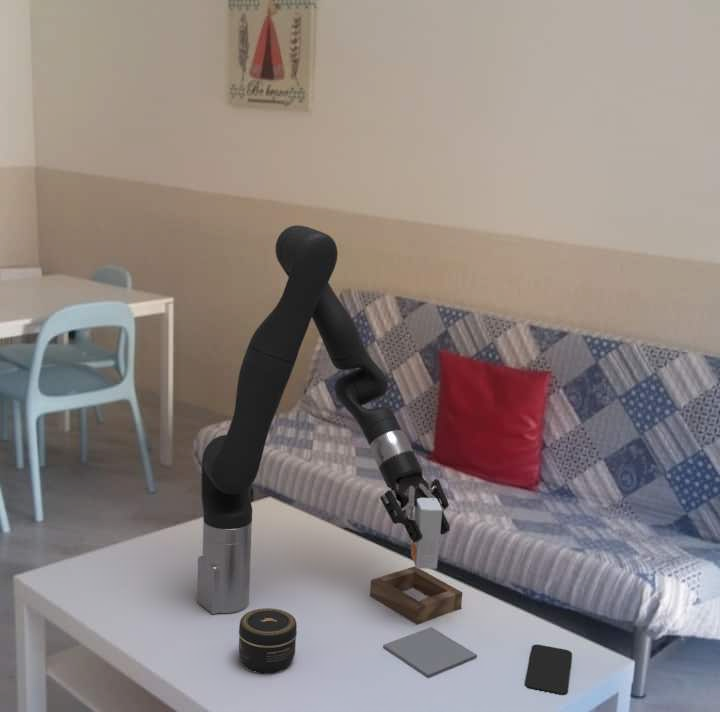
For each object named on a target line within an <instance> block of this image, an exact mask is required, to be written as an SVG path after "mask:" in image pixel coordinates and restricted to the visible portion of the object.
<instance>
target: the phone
mask: <svg viewBox="0 0 720 712" xmlns="http://www.w3.org/2000/svg"><path fill="white" fill-rule="evenodd" d="M529 653H530V654H529V658H528V665H527V668H526V675H525V680H524V687H525V686H526V687H525V688H526V689H529V690H532V689H534V691H537V690H539V692H542V691H544V692H543V693H547V692H549V693H548V694H552V693H554V694H553V695H557V694H558V696H566V695H567V694H568V692H569V685H570V684H569V682H570V675H571V668H572V657H573V652H572V651H570V650H568V649H563V648H558V647H553V646H549V645H542V644H533V645H532V646H531V649H530V652H529Z"/></svg>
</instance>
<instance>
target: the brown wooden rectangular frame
mask: <svg viewBox="0 0 720 712" xmlns="http://www.w3.org/2000/svg"><path fill="white" fill-rule="evenodd" d="M410 589H414V590H416V591H418V592H420V593H422V594H423V595H425V596H427V598H424V599H421V600H418V599H416V598H415V597H413V596H411V595H409V594H407V593H406V592H404V591H407V590H410ZM369 596H370V597H371V598H373V599H374V600H376V601H377V602H379V603H380V604H383V606H386V607H387V608H389V609H391V611H394V612H395V613H397V614H399V615H400V616H402V617H403V618H405V619H407V620H409V621H410V622H412V623H413V624H415V625H419V624H422V623H426V622H427V621H430V620H433V619H435V618H436V619H437V618H438V617H442V616H444V615H446V614H449V613H453V612H455V611H458V610H461V609H462V602H463V601H462V600H463V591H461V590H459V589H457V588H456V587H453V586H452V585H450V584H448V583H447V582H444V581H443V580H441V579H439V578H437V577H435V576H434V575H432V574H430V573H428V572H426V571H425V570H423V569H422V568H416V567H415V565H414V566H412V567H411V566H410V567H408V568H403V569H402V570H398V571H394V572H392V573H389V574H385V575H382V576H379V577H376V578H372V579H371V580H370V589H369Z"/></svg>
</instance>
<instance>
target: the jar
mask: <svg viewBox="0 0 720 712" xmlns="http://www.w3.org/2000/svg"><path fill="white" fill-rule="evenodd" d="M296 620H297V619H296V618H295V617H294V616H293V615H292V614H291V613H289V612H288V611H285V610H282V609H280V608H279V609H278V608H272V607H271V608H268V607H267V608H266V607H265V608H258V609H253V610H250V611H248V612H246V613H245V614H244V615H243V616H242V617H241V619H240V621H239V627H238V628H239V629H238V639H239V640H238V654H239V659H240V662H241V664H242V665H243V666H244V667H245V668H246V667H247V668H248V669H247V668H246V669H247V670H249V669H250V670H249V671H251V670H252V671H251V672H253V671H256V672H255V673H257V672H259V673H258V674H264V673H270V674H276V672H277V673H279V672H283V671H284V670H286V669H287V668H289V667H290V665H291V664H292V663H293V660H294V657H295V654H296V642H297V641H296V640H297V633H298V630H297V621H296Z"/></svg>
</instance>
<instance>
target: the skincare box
mask: <svg viewBox="0 0 720 712" xmlns="http://www.w3.org/2000/svg"><path fill="white" fill-rule="evenodd" d="M413 520H415V521H416V523H417V526H418V528H419V530H420V532H421V534H422V539H421V540H419V541H418V542H413V540H411V548H410V549H411V550H410V551H411V552H410V555H411V557H412V560H413V561H412V562H413V564H414V566H415V567H416V568H419V569H426V570H427V569H429V570H430V569H431V570H433V569H435V570H437V568H438V562H439V561H438V560H439V549H440V539H441V534H440V531H441V520H442V508H441V506H440V503H439V502H438V500H437V498H418V499H417V504H416V506H415V507H414V514H413Z"/></svg>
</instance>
